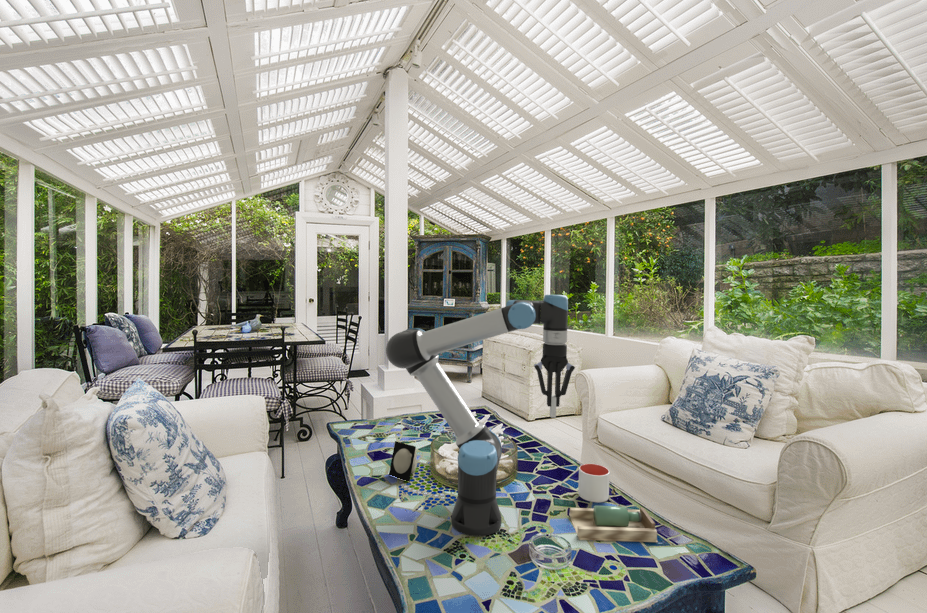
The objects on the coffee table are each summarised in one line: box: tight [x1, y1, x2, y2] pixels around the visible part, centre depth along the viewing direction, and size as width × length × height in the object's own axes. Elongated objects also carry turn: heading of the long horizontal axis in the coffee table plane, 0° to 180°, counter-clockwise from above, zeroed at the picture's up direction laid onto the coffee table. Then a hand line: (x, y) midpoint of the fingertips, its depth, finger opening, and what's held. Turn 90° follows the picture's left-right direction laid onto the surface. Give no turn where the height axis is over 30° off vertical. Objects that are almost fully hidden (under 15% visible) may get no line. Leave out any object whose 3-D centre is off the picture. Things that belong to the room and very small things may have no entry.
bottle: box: [593, 505, 642, 527], centre depth 134 cm, size 5×5×13 cm
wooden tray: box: [568, 507, 659, 543], centre depth 133 cm, size 22×14×5 cm, turn 89°
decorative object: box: [388, 440, 418, 483], centre depth 168 cm, size 13×10×10 cm
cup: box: [577, 463, 611, 503], centre depth 153 cm, size 10×10×10 cm
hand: (552, 416), depth 144 cm, fingers closed
